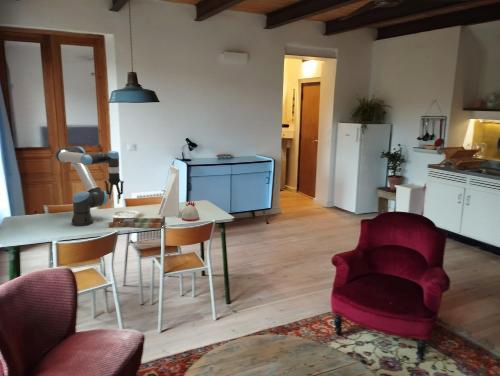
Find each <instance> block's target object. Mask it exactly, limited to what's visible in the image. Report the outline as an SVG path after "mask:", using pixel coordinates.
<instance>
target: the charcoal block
mask: <svg viewBox="0 0 500 376" xmlns="http://www.w3.org/2000/svg"><path fill="white" fill-rule="evenodd" d="M123 223H134V219H124V220H123Z"/></svg>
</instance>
